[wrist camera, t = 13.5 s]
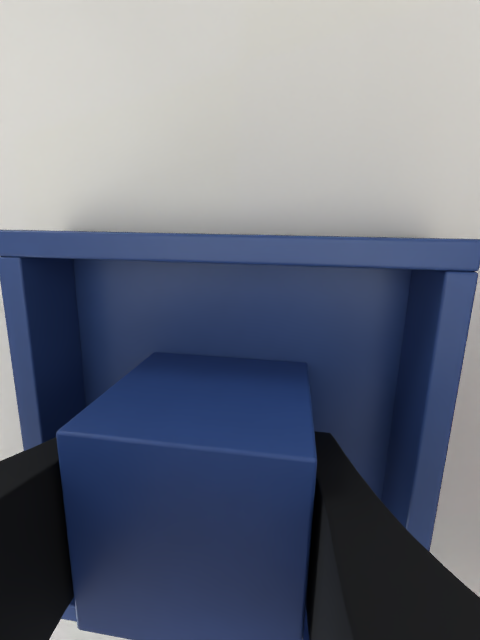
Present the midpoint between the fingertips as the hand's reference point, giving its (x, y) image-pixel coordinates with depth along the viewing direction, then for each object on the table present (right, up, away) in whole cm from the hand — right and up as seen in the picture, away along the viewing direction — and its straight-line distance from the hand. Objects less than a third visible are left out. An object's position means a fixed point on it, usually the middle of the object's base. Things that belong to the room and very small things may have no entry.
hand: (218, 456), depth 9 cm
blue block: (0, 0, +1) cm, 1 cm away
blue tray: (0, 0, +2) cm, 2 cm away
